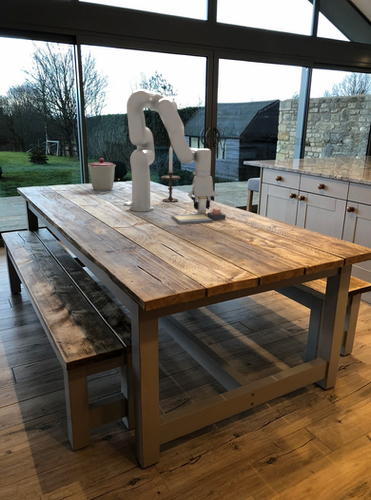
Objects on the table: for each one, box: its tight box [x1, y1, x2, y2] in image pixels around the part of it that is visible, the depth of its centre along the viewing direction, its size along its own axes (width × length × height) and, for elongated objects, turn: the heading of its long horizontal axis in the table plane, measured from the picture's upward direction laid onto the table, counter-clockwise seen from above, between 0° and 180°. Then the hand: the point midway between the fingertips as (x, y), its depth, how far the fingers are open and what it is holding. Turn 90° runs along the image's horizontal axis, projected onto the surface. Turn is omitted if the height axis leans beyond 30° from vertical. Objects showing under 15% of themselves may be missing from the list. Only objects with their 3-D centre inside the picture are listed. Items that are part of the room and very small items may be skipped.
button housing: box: [206, 211, 227, 221], centre depth 202 cm, size 7×7×2 cm
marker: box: [196, 197, 207, 215], centre depth 211 cm, size 5×5×11 cm
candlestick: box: [160, 143, 181, 203], centre depth 238 cm, size 11×11×35 cm
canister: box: [87, 157, 117, 192], centre depth 273 cm, size 18×18×21 cm
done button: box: [211, 208, 222, 215], centre depth 201 cm, size 4×4×3 cm
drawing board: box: [171, 213, 213, 225], centre depth 198 cm, size 16×14×1 cm
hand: (201, 208), depth 212 cm, fingers open, 5 cm apart
